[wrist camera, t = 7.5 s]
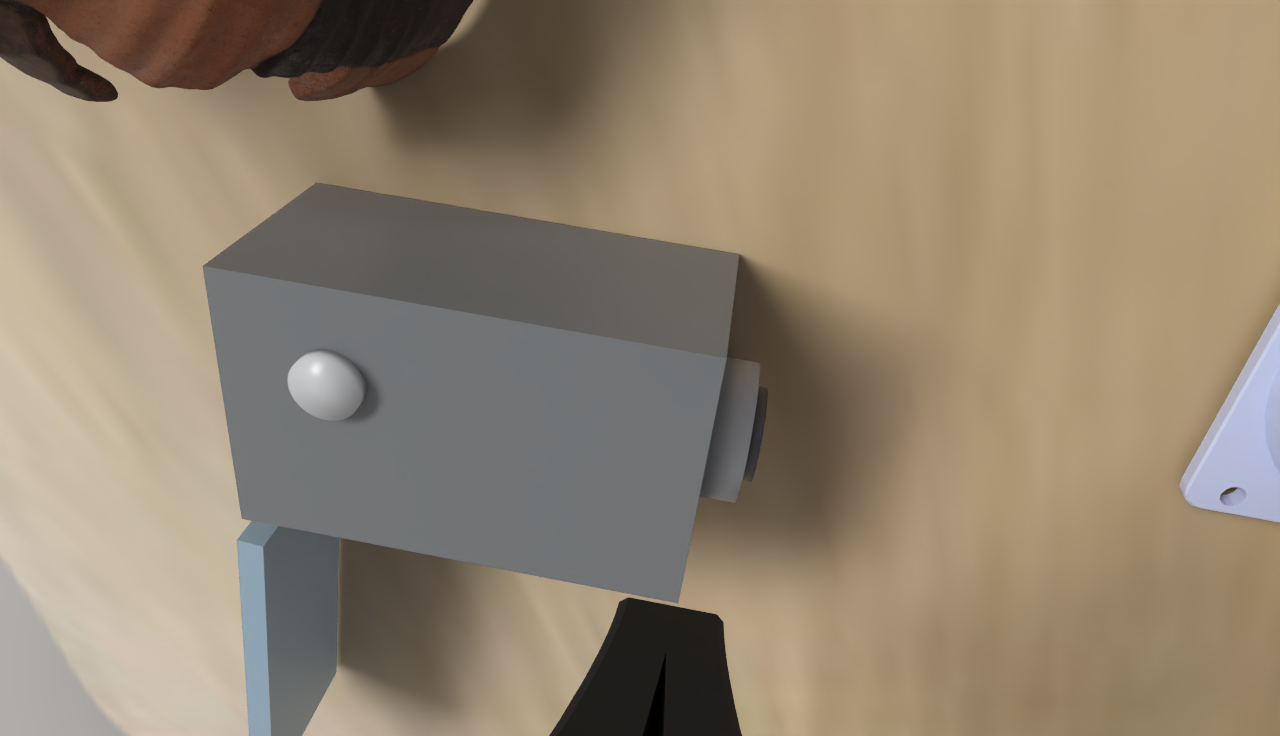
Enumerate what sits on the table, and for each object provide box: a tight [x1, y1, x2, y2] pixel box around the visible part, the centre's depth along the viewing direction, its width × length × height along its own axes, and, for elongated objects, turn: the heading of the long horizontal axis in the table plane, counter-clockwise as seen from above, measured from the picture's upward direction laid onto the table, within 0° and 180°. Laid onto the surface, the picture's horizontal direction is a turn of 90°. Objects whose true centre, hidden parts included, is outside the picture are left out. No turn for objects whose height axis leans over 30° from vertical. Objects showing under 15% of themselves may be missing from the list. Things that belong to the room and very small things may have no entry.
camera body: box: [203, 183, 768, 603], centre depth 19 cm, size 11×6×5 cm, turn 83°
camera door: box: [237, 521, 339, 736], centre depth 24 cm, size 9×1×4 cm, turn 169°
